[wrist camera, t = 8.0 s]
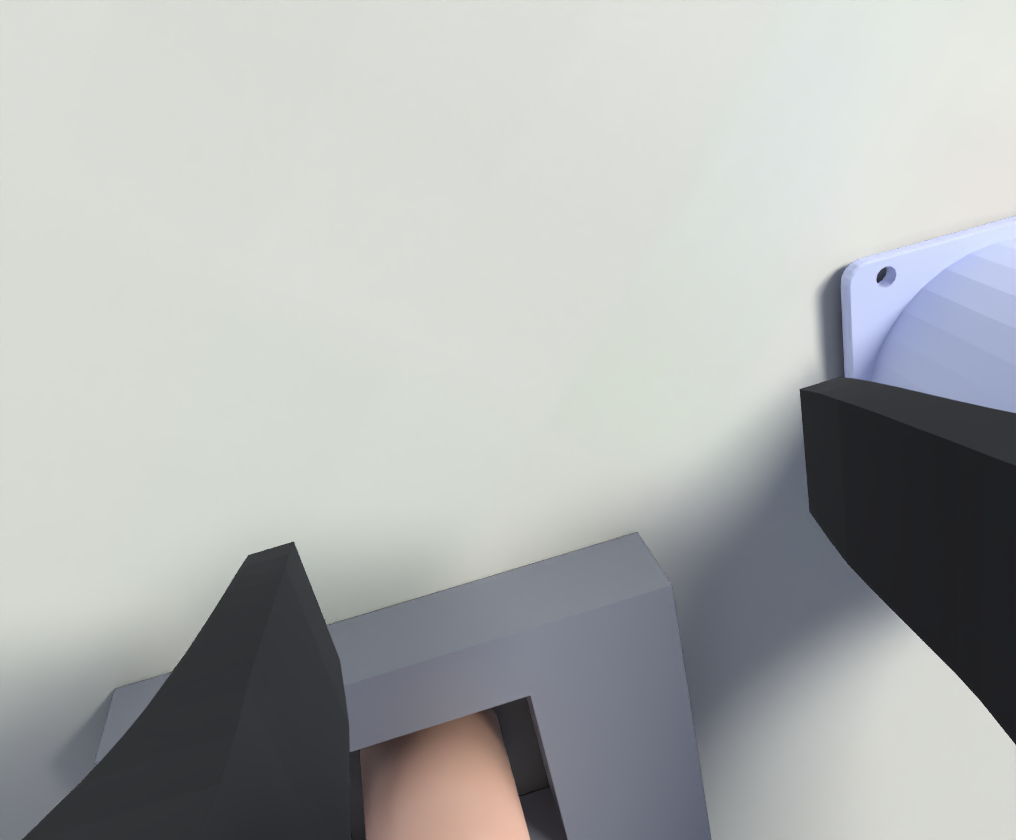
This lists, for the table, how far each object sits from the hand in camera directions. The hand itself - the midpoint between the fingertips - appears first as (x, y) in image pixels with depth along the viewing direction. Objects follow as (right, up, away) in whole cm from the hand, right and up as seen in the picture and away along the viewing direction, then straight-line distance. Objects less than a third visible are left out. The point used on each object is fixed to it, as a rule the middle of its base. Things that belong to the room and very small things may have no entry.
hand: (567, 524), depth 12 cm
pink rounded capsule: (-3, -8, +13) cm, 16 cm away
